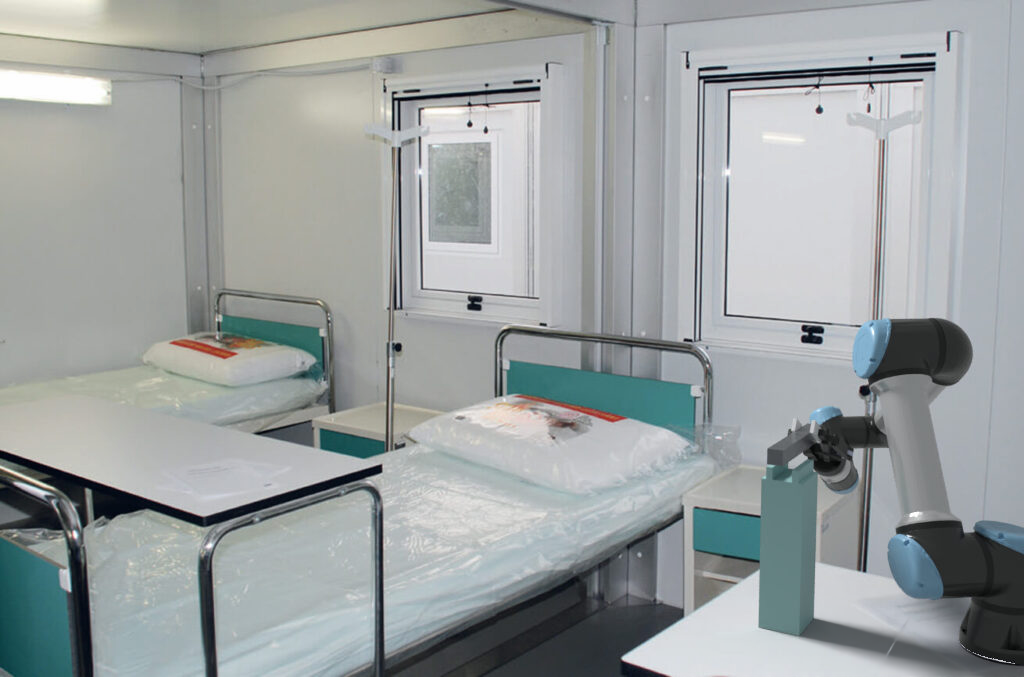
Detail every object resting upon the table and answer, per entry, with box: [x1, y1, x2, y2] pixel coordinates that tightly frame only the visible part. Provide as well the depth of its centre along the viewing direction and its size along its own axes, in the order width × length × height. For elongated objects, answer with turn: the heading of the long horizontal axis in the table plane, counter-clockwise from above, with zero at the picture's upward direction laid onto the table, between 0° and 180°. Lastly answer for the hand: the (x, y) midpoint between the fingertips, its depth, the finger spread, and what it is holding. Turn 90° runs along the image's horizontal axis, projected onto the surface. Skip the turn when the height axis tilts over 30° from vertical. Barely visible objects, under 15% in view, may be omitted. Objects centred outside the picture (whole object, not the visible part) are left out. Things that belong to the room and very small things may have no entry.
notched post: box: [757, 458, 819, 637], centre depth 195 cm, size 10×8×32 cm
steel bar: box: [766, 422, 822, 466], centre depth 196 cm, size 26×3×3 cm, turn 147°
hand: (803, 425), depth 200 cm, fingers closed on steel bar, 3 cm apart
